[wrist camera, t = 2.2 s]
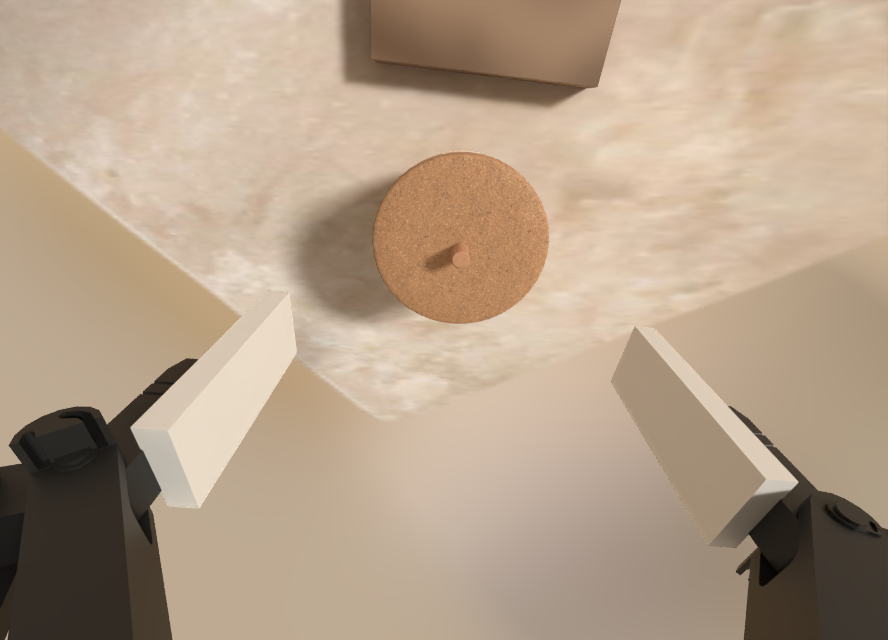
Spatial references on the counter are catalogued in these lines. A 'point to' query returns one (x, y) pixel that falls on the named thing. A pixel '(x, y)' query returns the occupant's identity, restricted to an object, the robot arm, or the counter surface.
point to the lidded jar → (460, 237)
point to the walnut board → (497, 37)
